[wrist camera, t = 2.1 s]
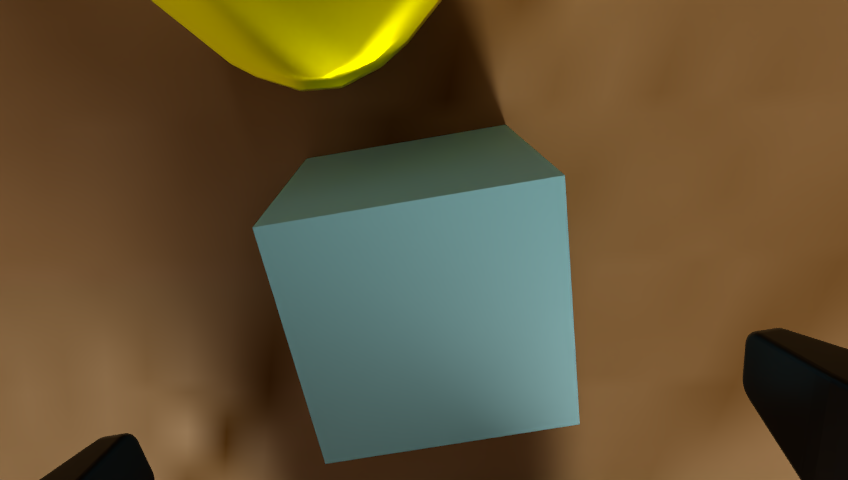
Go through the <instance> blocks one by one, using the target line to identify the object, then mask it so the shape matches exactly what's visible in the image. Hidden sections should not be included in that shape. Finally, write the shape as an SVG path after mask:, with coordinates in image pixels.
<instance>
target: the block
mask: <svg viewBox="0 0 848 480" xmlns="http://www.w3.org/2000/svg"><path fill="white" fill-rule="evenodd" d="M252 228H253V231H254V234H255V238H256V241H257V244H258V247H259V251H260V254H261V257H262V260H263V263H264V267H265V270H266V273H267V276H268V280H269V283H270V286H271V289H272V293H273V296H274V299H275V302H276V306H277V309H278V312H279V315H280V319H281V322H282V325H283V328H284V331H285V335H286V338H287V341H288V344H289V348H290V351H291V354H292V357H293V361H294V364H295V367H296V370H297V374H298V377H299V380H300V383H301V387H302V390H303V393H304V396H305V399H306V403H307V406H308V409H309V412H310V416H311V419H312V422H313V425H314V429H315V432H316V435H317V438H318V442H319V445H320V448H321V451H322V454H323V458H324V461H325V464H328V463H334V462H341V461H347V460H354V459H360V458H367V457H373V456H379V455H386V454H392V453H399V452H405V451H411V450H418V449H424V448H431V447H437V446H443V445H450V444H456V443H463V442H469V441H476V440H482V439H488V438H495V437H501V436H508V435H514V434H520V433H527V432H533V431H540V430H546V429H552V428H559V427H565V426H572V425H578V424H580V422H579V405H578V388H577V371H576V355H575V338H574V321H573V304H572V288H571V271H570V254H569V238H568V221H567V204H566V187H565V175H564V174H563V173H562V172H560V171H559V170H558V169H557V168H556V167H555V166H553V165H552V164H551V163H550V162H549V161H548V160H546V159H545V158H544V157H543V156H542V155H541V154H539V153H538V152H537V151H536V150H535V149H533V148H532V147H531V146H530V145H529V144H528V143H526V142H525V141H524V140H523V139H522V138H521V137H519V136H518V135H517V134H516V133H515V132H514V131H512V130H511V129H510V128H509V127H508V126H507V125H501V126H495V127H489V128H483V129H477V130H471V131H466V132H460V133H454V134H448V135H442V136H436V137H430V138H425V139H419V140H413V141H407V142H401V143H395V144H389V145H384V146H378V147H372V148H366V149H360V150H354V151H348V152H343V153H337V154H331V155H325V156H319V157H313V158H307V159H306V160H305V161H304V162H303V164H302V165H301V166H300V167H299V169H298V170H297V171H296V173H295V174H294V175H293V176H292V178H291V179H290V180H289V181H288V183H287V184H286V185H285V187H284V188H283V189H282V190H281V192H280V193H279V194H278V196H277V197H276V198H275V199H274V201H273V202H272V203H271V204H270V206H269V207H268V208H267V210H266V211H265V212H264V213H263V215H262V216H261V217H260V219H259V220H258V221H257V222H256V224H255V225H254V226H253V227H252Z"/></svg>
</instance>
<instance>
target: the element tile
mask: <svg viewBox="0 0 848 480" xmlns="http://www.w3.org/2000/svg"><path fill="white" fill-rule="evenodd" d="M151 1H152V2H154V3H155V4H156V5H157V6H159V7H160V8H161V9H162V10H164V11H165V12H166V13H167V14H169V15H170V16H171V17H172V18H174V19H175V20H176V21H177V22H179V23H180V24H181V25H182V26H184V27H185V28H186V29H187V30H189V31H190V32H191V33H192V34H194V35H195V36H196V37H197V38H199V39H200V40H201V41H202V42H204V43H205V44H206V45H207V46H209V47H210V48H211V49H212V50H214V51H215V52H216V53H217V54H219V55H220V56H221V57H222V58H224V59H225V60H226V61H228V62H229V63H230V64H231V65H233V66H235V67H237V68H239V69H241V70H243V71H245V72H247V73H249V74H251V75H253V76H255V77H257V78H259V79H263V80H266V81H269V82H272V83H276V84H279V85H282V86H285V87H289V88H292V89H295V90H298V91H312V90H324V89H336V88H343V87H345V86H347V85H349V84H351V83H353V82H355V81H357V80H358V79H360V78H362V77H364V76H366V75H368V74H370V73H372V72H374V71H376V70H377V69H379V68H381V67H382V66H384V65H385V64H386V63H387V62H388V61H389V60H390V59H391V58H392V57H393V56H395V55H396V54H397V53H398V52H399V51H400V50H401V49H402V48H403V47H405V46H406V45H407V44H408V43H409V42H410V40H411V39H412V38H413V36H414V35H415V34H416V33H417V31H418V30H419V29H420V28H421V26H422V25H423V24H424V23H425V21H426V20H427V19H428V17H429V16H430V15H431V14H432V12H433V11H434V10H435V9H436V7H437V6H438V5H439V4H440V2H441V1H442V0H151Z"/></svg>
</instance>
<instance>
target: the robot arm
mask: <svg viewBox="0 0 848 480" xmlns="http://www.w3.org/2000/svg"><path fill="white" fill-rule="evenodd" d="M743 386H744V389H745V392H746V394H747V396H748V398H749V400H750V401H751V403H752V404H753V406H754V407H755V409H756V411H757V412H758V414H759V415H760V417H761V418H762V420H763V421H764V423H765V425H766V426H767V428H768V429H769V431H770V432H771V434H772V436H773V437H774V439H775V440H776V442H777V443H778V445H779V446H780V448H781V450H782V451H783V453H784V454H785V456H786V457H787V459H788V460H789V462H790V464H791V465H792V467H793V468H794V470H795V471H796V473H797V474H798V476H799V478H800V479H801V480H848V349H846V348H843V347H839V346H836V345H833V344H830V343H827V342H824V341H821V340H817V339H814V338H811V337H808V336H805V335H802V334H799V333H795V332H792V331H789V330H786V329H782V328H774V329H767V330H761V331H755V332H752V333H751V334H749V335H748V337H747V339H746V344H745V356H744V368H743ZM40 480H154V474H153V472H152V470H151V467H150V465H149V463H148V461H147V459H146V457H145V455H144V453H143V451H142V449H141V446H140V444H139V442H138V440H137V439H136V437H134V436H133V435H132V434H128V433H125V434H118V435H112V436H106V437H102V438H100V439H98V440H96V441H95V442H94V443H92V444H91V445H89V446H88V447H86V448H85V449H83V450H82V451H81V452H79V453H78V454H76V455H75V456H73V457H72V458H70V459H69V460H67V461H66V462H65V463H63V464H62V465H60V466H59V467H57V468H56V469H54V470H53V471H52V472H50V473H49V474H47V475H46V476H44V477H43V478H41V479H40Z"/></svg>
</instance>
